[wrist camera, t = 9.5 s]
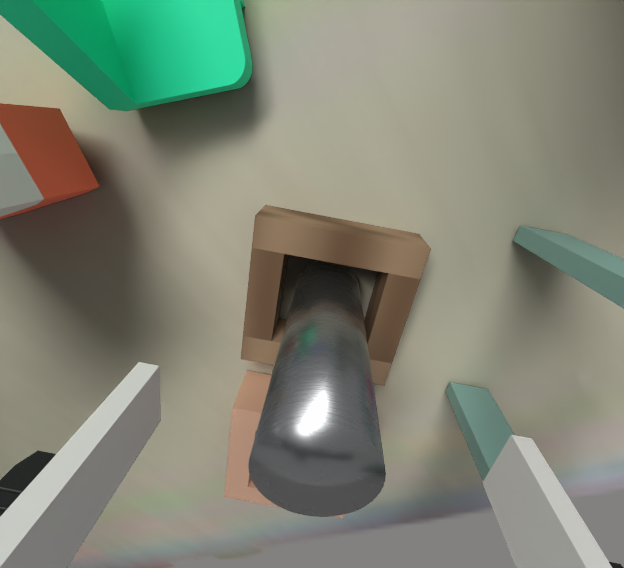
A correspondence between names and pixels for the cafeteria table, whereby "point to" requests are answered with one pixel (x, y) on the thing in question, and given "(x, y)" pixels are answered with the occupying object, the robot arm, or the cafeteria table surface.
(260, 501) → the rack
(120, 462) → the robot arm
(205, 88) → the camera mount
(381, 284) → the socket block
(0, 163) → the french fries container
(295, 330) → the metal cylinder
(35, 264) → the cafeteria table surface
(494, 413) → the teal green arch
